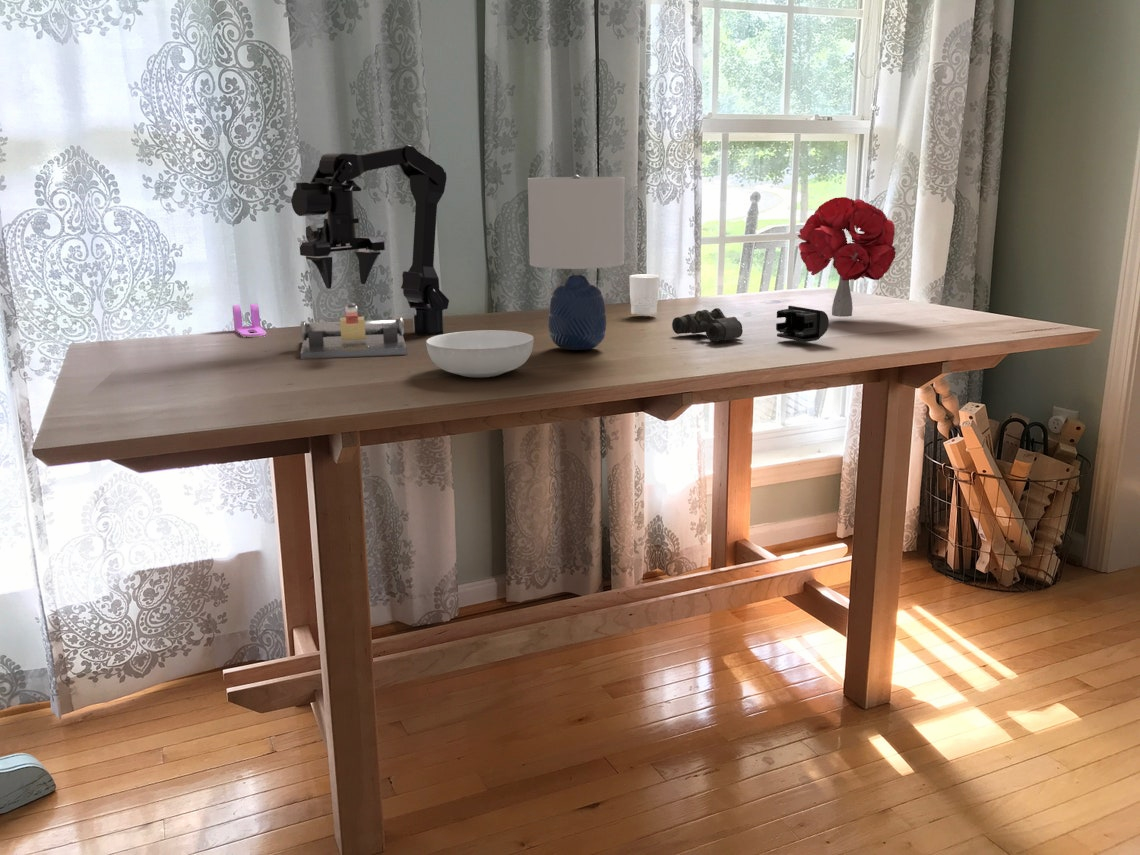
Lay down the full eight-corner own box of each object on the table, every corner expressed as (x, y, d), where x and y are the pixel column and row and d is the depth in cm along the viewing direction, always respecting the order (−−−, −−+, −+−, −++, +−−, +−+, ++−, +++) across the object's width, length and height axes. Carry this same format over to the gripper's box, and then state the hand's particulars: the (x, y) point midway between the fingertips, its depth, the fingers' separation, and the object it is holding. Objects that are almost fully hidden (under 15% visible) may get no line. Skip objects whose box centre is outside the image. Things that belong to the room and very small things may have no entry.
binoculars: (705, 328, 237) (706, 302, 235) (752, 337, 224) (753, 310, 222) (671, 333, 231) (671, 307, 229) (717, 343, 218) (718, 315, 216)
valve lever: (345, 312, 213) (344, 303, 212) (357, 311, 214) (357, 302, 213) (345, 323, 198) (345, 314, 197) (358, 323, 198) (358, 313, 198)
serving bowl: (527, 359, 201) (526, 327, 199) (541, 382, 181) (540, 345, 179) (426, 364, 197) (424, 331, 196) (429, 387, 178) (427, 350, 176)
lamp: (577, 335, 227) (576, 173, 217) (642, 346, 213) (644, 174, 203) (512, 347, 213) (507, 175, 203) (577, 360, 199) (575, 175, 189)
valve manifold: (401, 338, 226) (400, 304, 224) (407, 354, 207) (405, 317, 205) (304, 343, 221) (301, 308, 219) (301, 360, 203) (297, 322, 200)
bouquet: (850, 306, 266) (857, 194, 258) (909, 319, 245) (919, 197, 237) (783, 311, 258) (789, 196, 250) (838, 325, 237) (846, 199, 229)
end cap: (828, 339, 220) (830, 309, 218) (805, 342, 216) (807, 312, 214) (796, 333, 228) (797, 304, 226) (774, 336, 224) (775, 307, 223)
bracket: (234, 332, 237) (232, 304, 235) (258, 330, 239) (255, 302, 237) (244, 341, 226) (241, 311, 224) (268, 338, 228) (265, 309, 226)
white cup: (659, 315, 254) (660, 277, 252) (629, 315, 255) (629, 277, 252) (657, 311, 262) (657, 274, 259) (628, 311, 262) (628, 274, 260)
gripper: (353, 210, 220) (358, 279, 224) (281, 214, 207) (288, 288, 211) (384, 211, 213) (388, 282, 217) (312, 216, 200) (318, 292, 204)
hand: (346, 286), depth 213 cm, fingers open, 9 cm apart
